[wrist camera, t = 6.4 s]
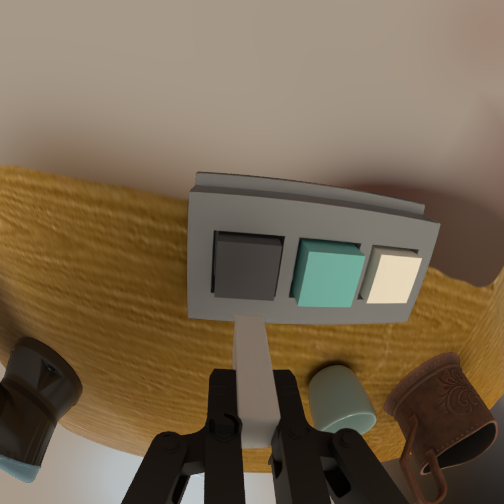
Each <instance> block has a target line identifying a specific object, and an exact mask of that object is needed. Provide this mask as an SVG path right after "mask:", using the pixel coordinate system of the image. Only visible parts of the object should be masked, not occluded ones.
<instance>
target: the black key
mask: <svg viewBox="0 0 504 504" xmlns="http://www.w3.org/2000/svg"><path fill="white" fill-rule="evenodd" d="M281 251H282V244H281V242H280V240H279V237H278V235H267V234H254V233H242V232H229V231H219V234H218V240H217V253H216V272H215V293H214V297H218V298H232V299H248V300H265V301H274V295H275V289H276V282H277V276H278V270H279V264H280V257H281Z"/></svg>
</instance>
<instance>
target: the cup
mask: <svg viewBox="0 0 504 504" xmlns="http://www.w3.org/2000/svg"><path fill="white" fill-rule="evenodd" d="M308 400H309V406H310V411H311V416H312V420H313V424H314V428H315V429H317V430H320V431H324V432H331V433H335V432H336V431H338V430H340V429H343V428H351V429H354V430H356V431H357V432H358V433H359V434H360V435H362V434H364V433H366V432H367V431H368V430H370V429H371V428H372V427H373V426H374V425H375V423H376V420H377V417H376V414H375V411H374V408H373V406H372V404H371V401H370V399H369V397H368V395H367V393H366V391H365V388H364V387H363V385H362V383H361V381H360V380H359V378H358V377H357V376H356V374H355V373H354V372H353V371H352V370H351V369H349V368H347V367H345V366H342V365H332V366H329V367H326V368H324V369H322V370H320V371H319V372H318V373H316V374H315V375H314V377H313V378H312V379H311V381H310V383H309V387H308Z"/></svg>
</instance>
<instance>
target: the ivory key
mask: <svg viewBox="0 0 504 504" xmlns="http://www.w3.org/2000/svg"><path fill="white" fill-rule="evenodd" d="M421 260H422V258H421V257H420V256H418V255H417V254H416V253H414V252H413V251H412V250H410V249H409V248H401V247H391V246H382V245H372V249H371V253H370V256H369V260H368V264H367V267H366V271H365V274H364V278H363V281H362V284H361V288H360V291H359V294H360V295H361V296H362V298H363V299H364V301H365V302H366V303H407V300H408V298H409V295H410V292H411V290H412V287H413V284H414V281H415V278H416V276H417V273H418V270H419V267H420V264H421Z"/></svg>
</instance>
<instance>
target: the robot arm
mask: <svg viewBox="0 0 504 504" xmlns="http://www.w3.org/2000/svg"><path fill="white" fill-rule="evenodd" d="M232 355H233V370H232V369H214V370H213V372H212V373H211V375H210V378H209V394H208V412H207V420H206V423H205V426H204V427H203V428H202V429H201V430H200V431H198V432H196V433H192V434H187V435H180V434H178V433H176V432H170V431H167V432H162V433H160V434H158V435H156V437H155V438H154V439H153V441H152V443H151V445H150V447H149V449H148V451H147V453H146V455H145V457H144V459H143V461H142V463H141V465H140V467H139V469H138V471H137V473H136V475H135V477H134V479H133V481H132V483H131V485H130V487H129V489H128V491H127V493H126V495H125V497H124V499H123V501H122V503H121V504H180V502H181V500H182V497H183V495H184V492H185V489H186V486H187V484H188V481H189V478H190V476H191V475H194V474H199V473H203V472H205V480H204V504H245V490H244V474H243V459H242V448H269V447H270V445H271V446H272V454H271V456H270V458H269V461H268V465H271V466H272V474H273V482H274V490H275V497H276V504H331V500H330V496H331V498H332V500H333V502H334V503H335V504H409V503H408V501H407V500H406V498H405V497H404V496H403V494H402V493H401V491H400V490H399V489H398V487H397V486H396V484H395V483H394V482H393V480H392V479H391V477H390V476H389V474H388V473H387V472H386V470H385V469H384V467H383V466H382V465H381V463H380V462H379V460H378V459H377V457H376V456H375V455H374V453H373V452H372V450H371V449H370V447H369V446H368V445H367V443H366V442H365V440H364V439H363V437H362V436H361V435H360V434H359V433H358V432H357V431H356V430H354V429H351V428H343V429H340V430H338V431H336V432H335V433H331V432H324V431H320V430H317V429H315V428H313V427H312V426H310V425H309V424H308V422H307V420H306V418H305V414H304V410H303V406H302V402H301V398H300V394H299V390H298V387H297V382H296V378H295V376H294V375H293V374H292V372H291V371H290V370H272V365H271V359H270V353H269V347H268V341H267V336H266V330H265V324H264V318H263V317H260V316H239V315H236V317H235V328H234V340H233V351H232ZM81 393H82V386H81V383H80V381H79V379H78V377H77V375H76V374H75V372H74V371H73V370H72V368H71V367H70V366H69V365H68V364H67V363H66V362H65V361H64V360H63V359H62V358H61V357H60V356H59V355H58V354H57V353H55V352H54V351H53V350H52V349H50V348H49V347H47V346H46V345H44V344H42V343H41V342H39V341H37V340H34V339H31V338H26V337H24V338H20V339H19V340H18V341H17V342H16V343H15V345H14V346H13V348H12V350H11V353H10V359H9V362H8V365H7V368H6V372H5V375H4V377H3V379H2V381H1V382H0V468H1V469H2V470H4V471H5V472H7V473H9V474H11V475H12V476H14V477H16V478H18V479H19V480H21V481H23V482H26V483H31V482H33V481H34V480H35V477H36V475H37V473H38V471H39V469H40V468H41V463H42V460H43V457H44V455H45V452H46V449H47V447H48V444H49V442H50V439H51V436H52V434H53V432H54V429H55V427H56V425H57V422H58V421H59V419H60V418H61V417H62V416H63V415H65V414H66V413H67V412H68V411H69V410H70V409H71V407H72V406H74V405H75V404H76V403H77V402H78V400H79V398H80V396H81ZM329 495H330V496H329Z"/></svg>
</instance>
